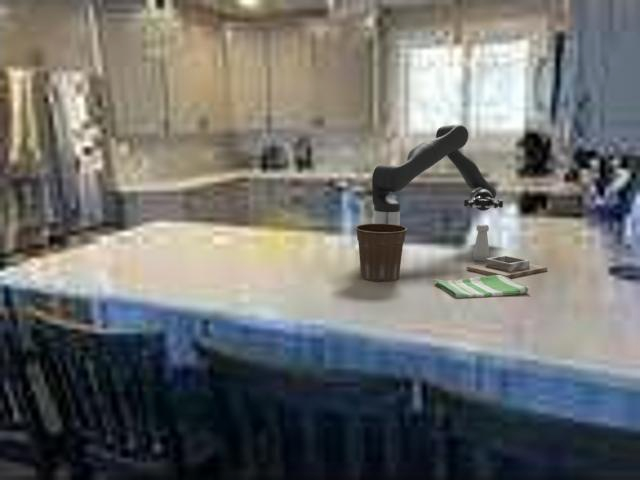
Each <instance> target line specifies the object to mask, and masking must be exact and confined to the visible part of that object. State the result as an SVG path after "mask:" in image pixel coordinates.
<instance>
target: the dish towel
mask: <svg viewBox="0 0 640 480" xmlns="http://www.w3.org/2000/svg"><path fill="white" fill-rule="evenodd" d="M433 281H434V282H436V283H434V285H435V286H437V287H439V288H440V289H442V290H444V291H445V292H447V293H448V294H449V295H450V296H451V297H452V298H453V297H454V298H455V299H464V298H465V299H466V298H488V297H489V298H490V297H506V296H507V295H508V296H516V295H517V294H518V295H522V294H527V293H528V292H529V291H530V287H529V286H527V285H524V284H522V283H519V282H517V281H515V280H512V279H511V278H506V277H505V276H502V275H493V276H490V275H485V276H484V275H483V276H478V277H470V278H469V277H468V278H461V279H457V280H443V279H442V280H441V279H438V278H437V279H436V278H434V279H433Z"/></svg>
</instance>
